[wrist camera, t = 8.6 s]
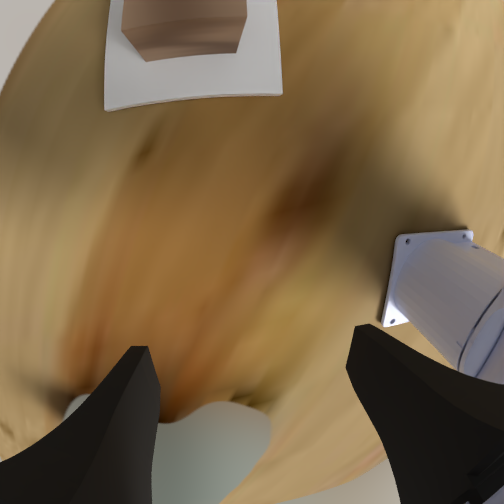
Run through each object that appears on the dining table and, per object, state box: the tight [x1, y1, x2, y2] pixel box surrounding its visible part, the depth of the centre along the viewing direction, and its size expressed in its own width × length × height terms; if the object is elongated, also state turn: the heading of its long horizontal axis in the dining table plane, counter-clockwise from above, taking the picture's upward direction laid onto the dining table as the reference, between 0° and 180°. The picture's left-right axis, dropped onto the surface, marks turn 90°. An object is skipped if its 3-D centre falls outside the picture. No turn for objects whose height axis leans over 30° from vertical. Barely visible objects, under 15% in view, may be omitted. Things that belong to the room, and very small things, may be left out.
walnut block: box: [121, 0, 247, 62], centre depth 9 cm, size 5×5×5 cm
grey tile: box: [104, 0, 283, 112], centre depth 12 cm, size 10×10×1 cm
